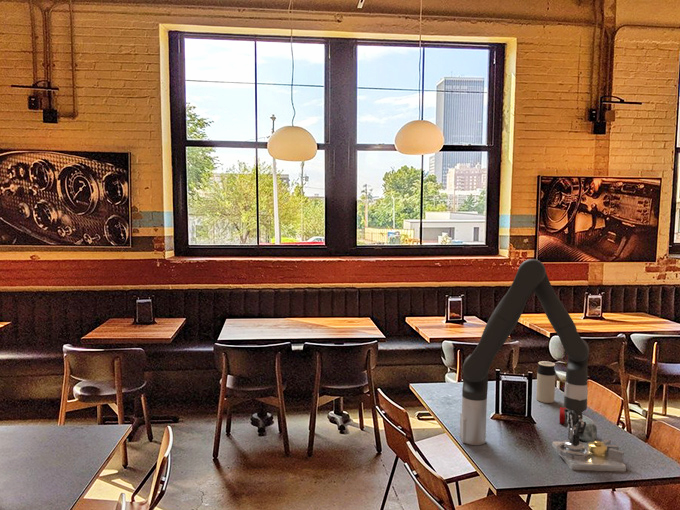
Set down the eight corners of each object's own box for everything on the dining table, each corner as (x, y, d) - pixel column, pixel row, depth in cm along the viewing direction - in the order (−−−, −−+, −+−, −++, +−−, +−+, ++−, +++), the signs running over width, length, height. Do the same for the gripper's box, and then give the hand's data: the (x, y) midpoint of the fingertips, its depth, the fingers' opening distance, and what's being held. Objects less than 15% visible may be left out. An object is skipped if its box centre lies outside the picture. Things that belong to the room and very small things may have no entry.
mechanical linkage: (578, 428, 212) (579, 416, 212) (559, 425, 215) (560, 413, 215) (576, 414, 227) (577, 403, 227) (559, 412, 230) (559, 401, 229)
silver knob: (568, 451, 181) (568, 432, 181) (561, 443, 188) (561, 425, 187) (586, 452, 181) (587, 432, 181) (578, 444, 187) (579, 425, 187)
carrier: (568, 469, 176) (568, 451, 175) (549, 446, 194) (549, 430, 193) (629, 471, 175) (630, 454, 174) (605, 448, 193) (606, 432, 192)
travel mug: (557, 403, 240) (558, 365, 239) (539, 403, 240) (541, 365, 239) (550, 397, 248) (551, 361, 247) (533, 397, 248) (535, 360, 247)
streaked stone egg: (606, 437, 195) (592, 412, 197) (582, 447, 195) (569, 422, 198) (595, 432, 208) (582, 408, 210) (573, 441, 208) (560, 418, 211)
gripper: (557, 388, 190) (555, 433, 191) (573, 401, 176) (570, 450, 177) (578, 389, 190) (576, 434, 191) (595, 402, 176) (593, 451, 177)
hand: (573, 442), depth 184 cm, fingers closed on silver knob, 3 cm apart
